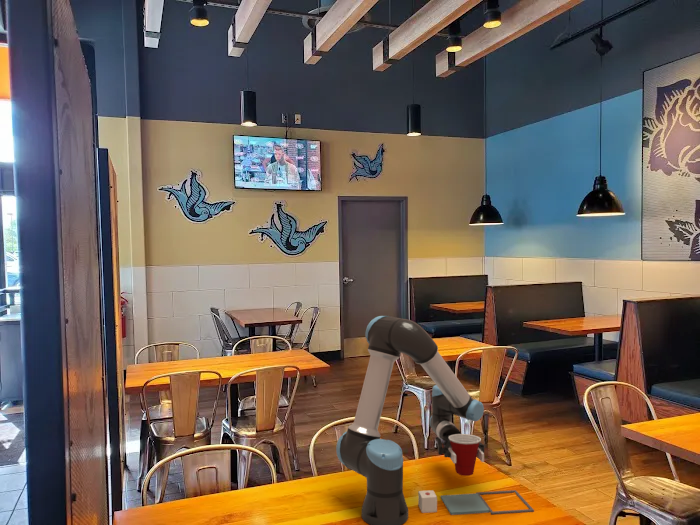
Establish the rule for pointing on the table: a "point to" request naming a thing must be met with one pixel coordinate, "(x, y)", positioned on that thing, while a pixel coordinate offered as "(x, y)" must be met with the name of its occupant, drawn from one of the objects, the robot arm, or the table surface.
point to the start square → (506, 511)
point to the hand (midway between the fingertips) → (469, 458)
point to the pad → (464, 504)
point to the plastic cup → (465, 452)
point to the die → (427, 501)
